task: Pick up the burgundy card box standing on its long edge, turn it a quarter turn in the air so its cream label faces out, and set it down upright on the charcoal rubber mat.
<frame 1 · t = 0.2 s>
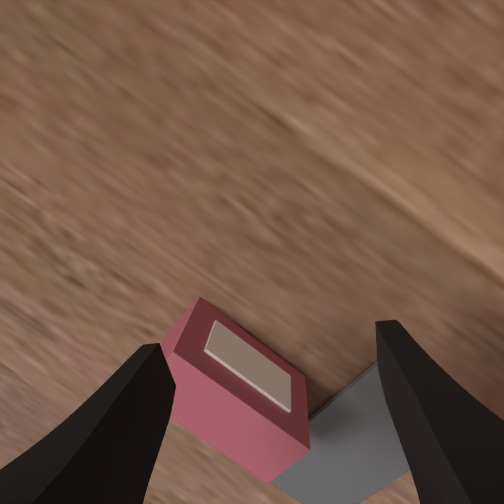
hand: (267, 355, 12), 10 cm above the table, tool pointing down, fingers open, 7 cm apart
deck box: (237, 353, 25), on the table
mat: (356, 442, 27), on the table
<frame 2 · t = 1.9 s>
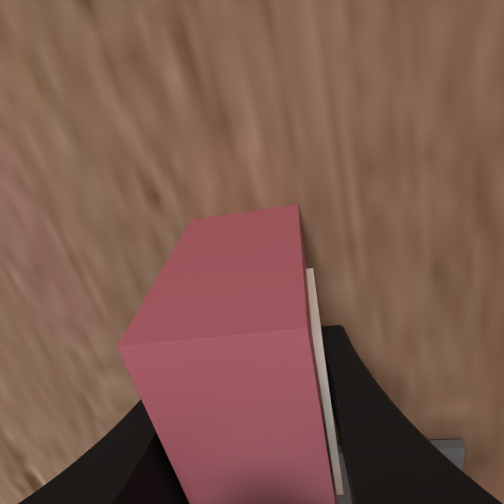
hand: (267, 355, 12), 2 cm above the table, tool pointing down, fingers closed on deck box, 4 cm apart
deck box: (267, 323, 14), on the table, touching gripper
mat: (307, 498, 19), on the table
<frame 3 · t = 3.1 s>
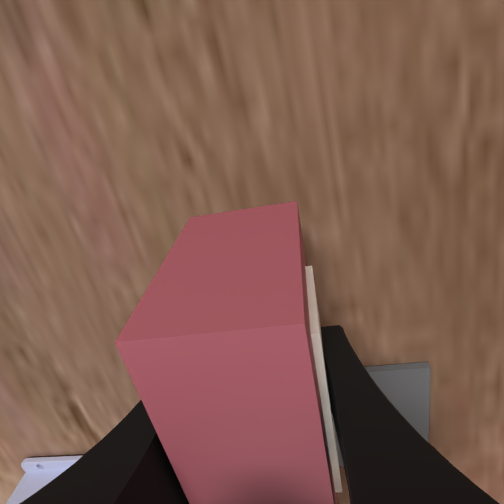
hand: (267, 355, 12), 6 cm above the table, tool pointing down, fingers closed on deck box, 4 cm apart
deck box: (266, 321, 14), point 4 cm above the table, touching gripper
mat: (304, 420, 22), on the table
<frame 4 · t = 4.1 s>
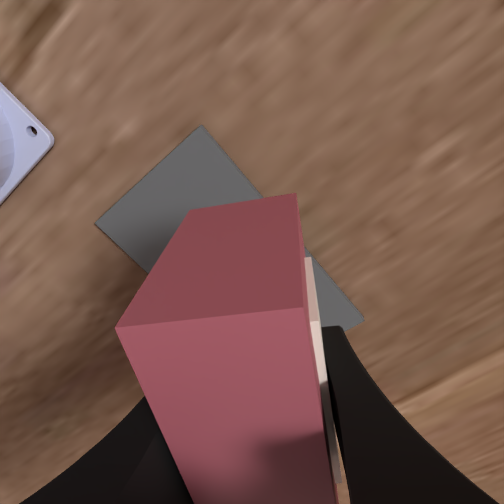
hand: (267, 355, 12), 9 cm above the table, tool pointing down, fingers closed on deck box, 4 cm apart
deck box: (266, 314, 14), point 7 cm above the table, touching gripper
mat: (235, 269, 21), on the table
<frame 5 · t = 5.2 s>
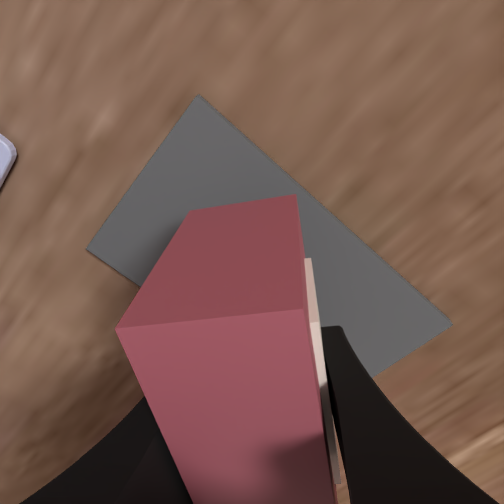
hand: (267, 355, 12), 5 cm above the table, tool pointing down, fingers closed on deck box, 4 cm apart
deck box: (266, 315, 14), point 3 cm above the table, touching gripper
mat: (271, 282, 16), on the table
when the fingers open (3 cm above the table, at t = 5.9 s): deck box stays where it is, resting on mat.
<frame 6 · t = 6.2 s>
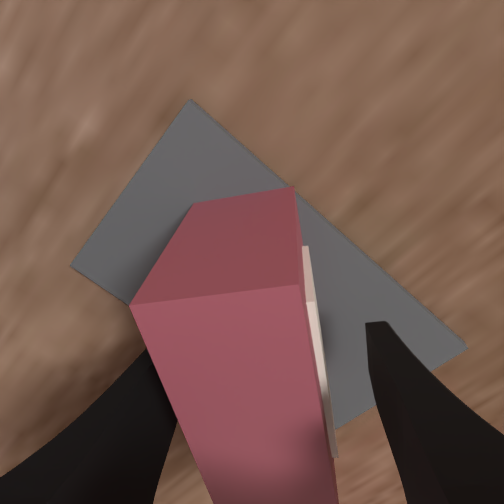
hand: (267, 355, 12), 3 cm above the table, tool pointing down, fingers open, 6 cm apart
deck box: (266, 302, 15), resting on mat
mat: (271, 301, 15), on the table
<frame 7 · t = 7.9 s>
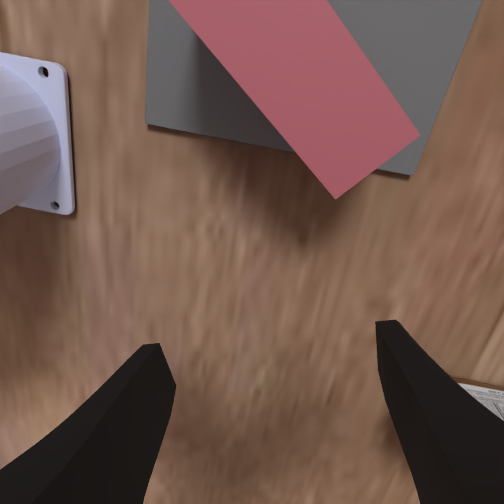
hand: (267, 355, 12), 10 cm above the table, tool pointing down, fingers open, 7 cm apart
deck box: (292, 61, 17), resting on mat
mat: (297, 63, 17), on the table
tin: (500, 394, 26), on the table
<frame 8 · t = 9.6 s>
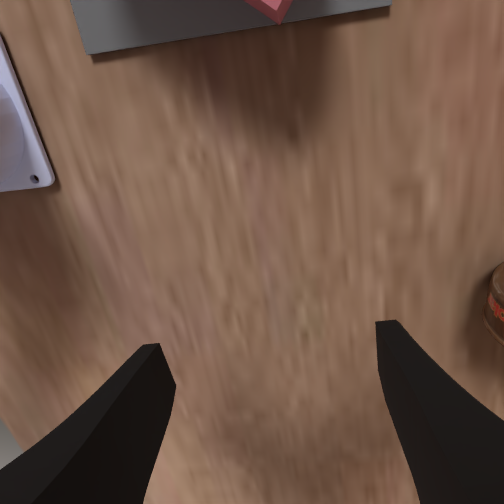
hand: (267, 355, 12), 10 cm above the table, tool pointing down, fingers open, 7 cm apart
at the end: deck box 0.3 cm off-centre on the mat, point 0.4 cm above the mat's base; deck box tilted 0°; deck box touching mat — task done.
